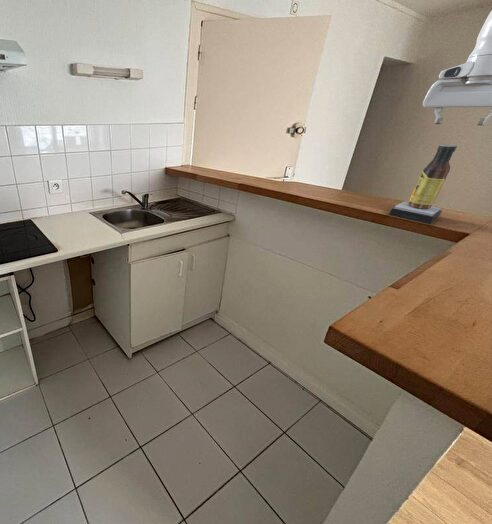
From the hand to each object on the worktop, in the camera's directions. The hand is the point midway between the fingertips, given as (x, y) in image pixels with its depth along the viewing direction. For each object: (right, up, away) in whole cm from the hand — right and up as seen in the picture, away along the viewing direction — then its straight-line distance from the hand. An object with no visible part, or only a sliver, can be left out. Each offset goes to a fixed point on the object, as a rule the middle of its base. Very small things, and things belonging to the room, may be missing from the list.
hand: (458, 124), depth 84 cm
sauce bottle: (0, -22, +13) cm, 26 cm away
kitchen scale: (0, -25, +14) cm, 29 cm away
